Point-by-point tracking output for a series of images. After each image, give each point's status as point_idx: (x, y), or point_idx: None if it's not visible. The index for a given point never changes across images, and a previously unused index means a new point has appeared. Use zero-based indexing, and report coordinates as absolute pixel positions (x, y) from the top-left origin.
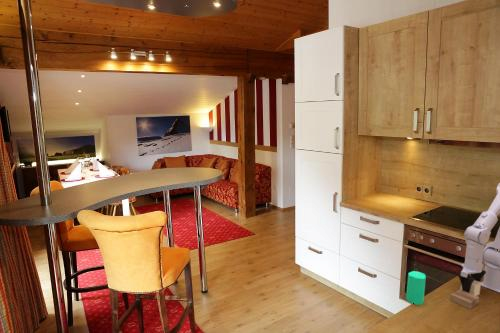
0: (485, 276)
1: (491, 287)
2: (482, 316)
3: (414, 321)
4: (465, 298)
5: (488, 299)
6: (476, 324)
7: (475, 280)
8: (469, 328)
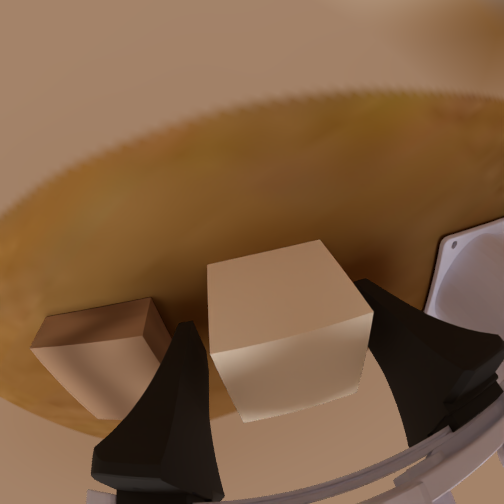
0: (491, 295)
1: (437, 304)
2: None
3: None
4: (95, 399)
5: None
6: (69, 421)
7: (361, 368)
8: (40, 416)
